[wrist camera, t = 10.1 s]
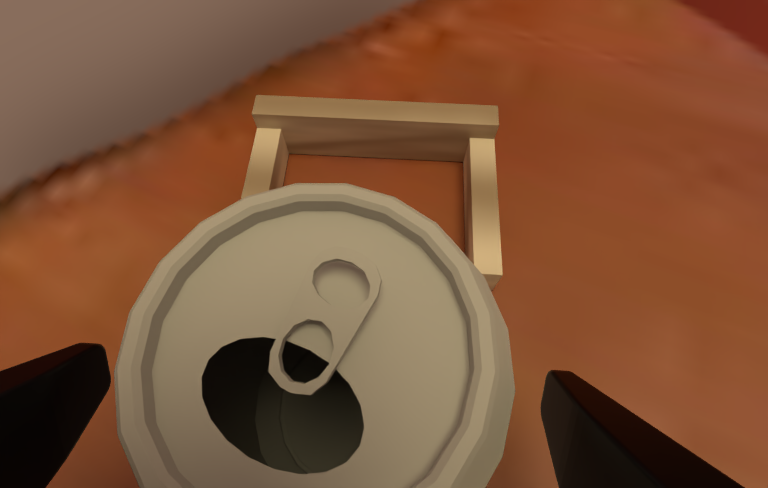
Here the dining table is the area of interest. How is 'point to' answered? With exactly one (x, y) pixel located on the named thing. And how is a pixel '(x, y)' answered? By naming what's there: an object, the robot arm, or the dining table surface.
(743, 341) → the dining table surface
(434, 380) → the can
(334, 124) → the shelf lane
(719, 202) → the dining table surface
